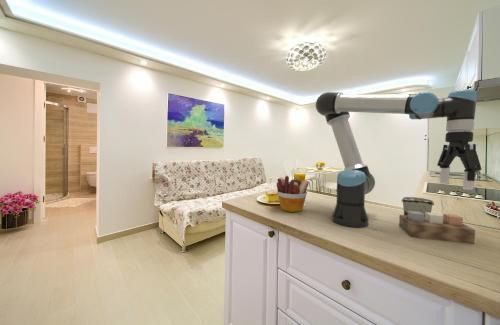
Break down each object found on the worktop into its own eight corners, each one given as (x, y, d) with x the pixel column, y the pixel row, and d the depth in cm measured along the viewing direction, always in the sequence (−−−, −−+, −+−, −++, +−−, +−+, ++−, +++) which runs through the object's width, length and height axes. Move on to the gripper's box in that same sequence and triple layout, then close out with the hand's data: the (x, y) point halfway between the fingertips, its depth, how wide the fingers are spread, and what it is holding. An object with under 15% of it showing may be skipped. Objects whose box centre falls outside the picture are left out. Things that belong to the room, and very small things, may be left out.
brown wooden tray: (410, 236, 80) (411, 223, 79) (399, 225, 91) (399, 214, 91) (474, 243, 74) (475, 229, 74) (453, 231, 85) (453, 219, 85)
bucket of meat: (283, 203, 128) (284, 171, 127) (310, 207, 120) (311, 173, 118) (270, 212, 111) (270, 175, 110) (300, 217, 102) (301, 177, 101)
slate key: (411, 224, 83) (412, 213, 83) (407, 221, 87) (407, 210, 86) (423, 225, 82) (424, 214, 81) (418, 222, 85) (419, 211, 85)
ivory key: (429, 226, 81) (430, 215, 81) (424, 222, 85) (425, 212, 84) (442, 227, 80) (443, 216, 79) (436, 224, 84) (437, 213, 83)
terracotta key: (448, 228, 79) (449, 216, 79) (442, 224, 83) (443, 213, 83) (462, 229, 78) (462, 217, 78) (455, 225, 82) (456, 214, 81)
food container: (428, 218, 101) (429, 198, 101) (433, 222, 96) (434, 201, 95) (397, 215, 106) (398, 195, 106) (400, 218, 101) (401, 198, 100)
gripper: (500, 128, 67) (494, 193, 68) (449, 134, 91) (446, 182, 92) (471, 128, 69) (466, 192, 70) (429, 134, 93) (426, 181, 94)
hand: (455, 186), depth 81 cm, fingers open, 13 cm apart
